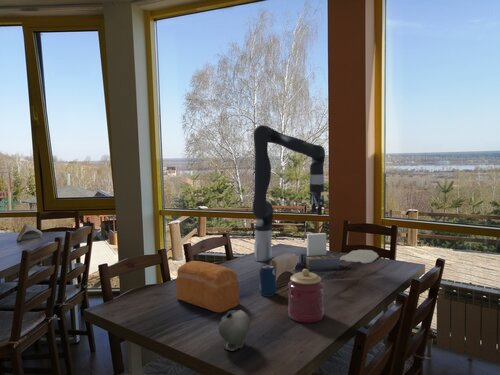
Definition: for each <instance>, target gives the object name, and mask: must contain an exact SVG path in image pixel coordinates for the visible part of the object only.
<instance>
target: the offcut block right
mask: <svg viewBox="0 0 500 375" xmlns="http://www.w3.org/2000/svg"><path fill="white" fill-rule="evenodd" d="M320 258H322V259H330V258H338V257H336V256H335V255H334V254H333V255H328V256H320Z"/></svg>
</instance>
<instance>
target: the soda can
mask: <svg viewBox="0 0 500 375" xmlns="http://www.w3.org/2000/svg"><path fill="white" fill-rule="evenodd" d="M258 271H259V274H258V275H259V282H258V283H259V293H260V294H261V296H264V297H272V296H275V294H276V292H277V289H276V288H277V283H276V281H277V280H276V278H277V276H276V268H275V266H274V265H273V264H263V265H260V268H259V270H258Z"/></svg>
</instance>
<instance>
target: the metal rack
mask: <svg viewBox="0 0 500 375" xmlns="http://www.w3.org/2000/svg"><path fill="white" fill-rule="evenodd" d="M328 255H333V256H334V254H332V253H331V254H330V252H329V251H326V255H312V256H319V257H320V256H328ZM312 256H307V252H306V253H300V264H301V265H303V266H304V267H305V269H308V268H307V267H306V257H312ZM331 269H332V270H333V269H340V257H337V258H330V259H315V260H309V269H308V270H309V271H317V270H331Z"/></svg>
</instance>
